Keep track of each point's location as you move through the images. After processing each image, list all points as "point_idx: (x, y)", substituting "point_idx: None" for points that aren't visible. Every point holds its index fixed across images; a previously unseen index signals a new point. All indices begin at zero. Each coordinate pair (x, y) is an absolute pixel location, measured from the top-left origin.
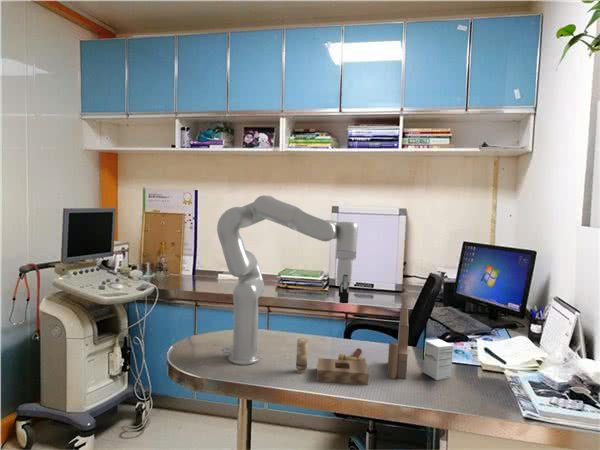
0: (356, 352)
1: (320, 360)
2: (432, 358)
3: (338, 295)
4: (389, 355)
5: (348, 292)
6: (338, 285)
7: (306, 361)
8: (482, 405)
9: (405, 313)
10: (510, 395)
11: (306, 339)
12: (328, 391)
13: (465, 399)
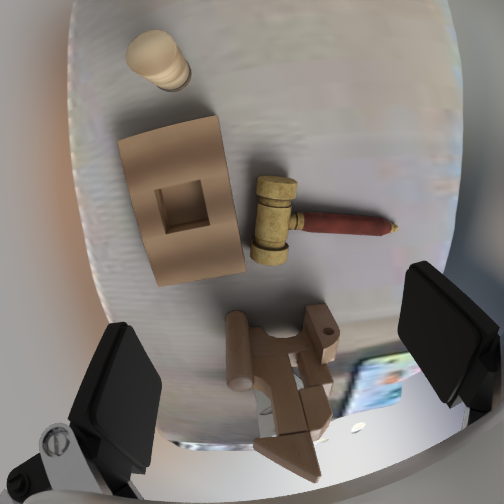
0: (345, 227)
1: (197, 128)
2: (269, 410)
3: (423, 263)
4: (231, 350)
5: (138, 473)
6: (42, 493)
7: (163, 88)
8: (184, 420)
9: (293, 470)
10: (237, 441)
11: (160, 63)
12: (87, 187)
13: (193, 409)
